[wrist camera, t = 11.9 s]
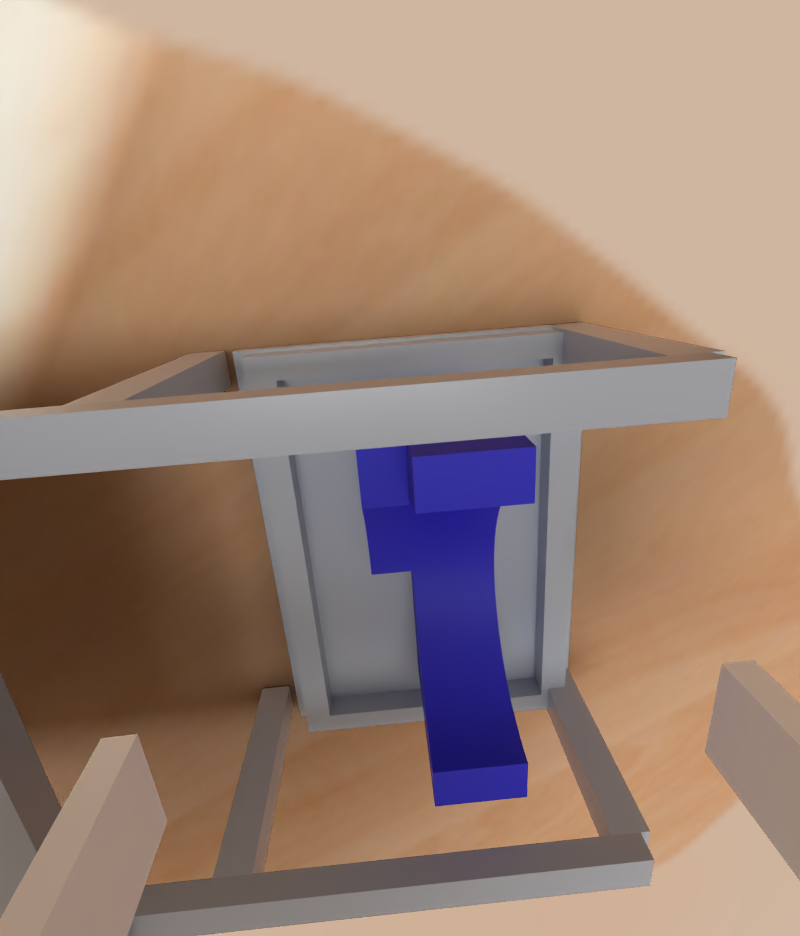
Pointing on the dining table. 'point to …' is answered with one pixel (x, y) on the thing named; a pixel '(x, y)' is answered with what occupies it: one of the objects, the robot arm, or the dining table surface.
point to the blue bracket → (454, 597)
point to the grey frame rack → (390, 595)
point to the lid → (20, 799)
